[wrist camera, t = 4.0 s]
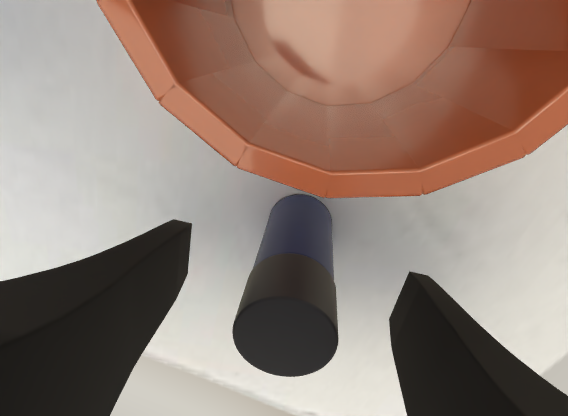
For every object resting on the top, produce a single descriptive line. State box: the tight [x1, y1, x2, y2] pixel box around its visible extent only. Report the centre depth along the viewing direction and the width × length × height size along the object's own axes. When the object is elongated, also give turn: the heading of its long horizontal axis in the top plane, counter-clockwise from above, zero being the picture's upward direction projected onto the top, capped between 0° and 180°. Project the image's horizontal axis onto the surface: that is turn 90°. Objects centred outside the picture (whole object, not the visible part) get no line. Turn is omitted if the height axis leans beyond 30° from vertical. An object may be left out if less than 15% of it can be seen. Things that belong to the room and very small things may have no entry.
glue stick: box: [233, 195, 338, 377], centre depth 12 cm, size 3×3×6 cm
